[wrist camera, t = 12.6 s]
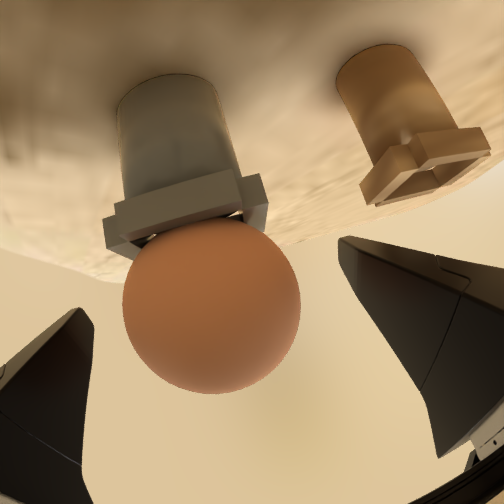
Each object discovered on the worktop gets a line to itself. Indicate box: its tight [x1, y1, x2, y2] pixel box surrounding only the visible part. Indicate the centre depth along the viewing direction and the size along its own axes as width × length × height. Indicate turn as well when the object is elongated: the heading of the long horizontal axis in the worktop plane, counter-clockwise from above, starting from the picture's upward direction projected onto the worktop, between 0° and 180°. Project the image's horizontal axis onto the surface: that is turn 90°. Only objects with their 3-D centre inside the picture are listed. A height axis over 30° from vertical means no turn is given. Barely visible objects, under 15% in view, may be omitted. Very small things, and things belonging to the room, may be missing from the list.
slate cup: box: [102, 74, 268, 261], centre depth 11 cm, size 5×5×6 cm
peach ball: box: [122, 217, 301, 394], centre depth 11 cm, size 6×6×6 cm
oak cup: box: [336, 44, 491, 207], centre depth 12 cm, size 5×5×6 cm
